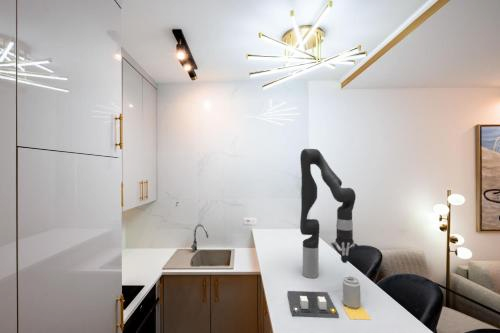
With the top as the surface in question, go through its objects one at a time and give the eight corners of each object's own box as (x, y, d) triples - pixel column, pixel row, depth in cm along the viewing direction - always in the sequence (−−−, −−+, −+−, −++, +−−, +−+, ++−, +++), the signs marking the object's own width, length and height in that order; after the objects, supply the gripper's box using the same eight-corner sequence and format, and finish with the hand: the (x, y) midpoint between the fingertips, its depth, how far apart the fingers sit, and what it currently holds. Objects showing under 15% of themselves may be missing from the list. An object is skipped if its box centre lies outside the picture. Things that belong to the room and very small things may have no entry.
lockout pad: (342, 306, 110) (342, 306, 110) (362, 307, 109) (362, 306, 109) (349, 319, 101) (349, 318, 101) (371, 319, 100) (371, 319, 100)
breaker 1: (299, 303, 109) (299, 295, 109) (306, 303, 109) (306, 296, 109) (301, 308, 105) (301, 300, 105) (308, 309, 105) (308, 301, 105)
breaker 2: (317, 304, 109) (317, 296, 109) (324, 304, 108) (324, 296, 108) (319, 309, 105) (319, 301, 105) (326, 309, 104) (326, 301, 104)
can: (355, 300, 115) (355, 275, 115) (363, 309, 108) (363, 282, 108) (340, 300, 115) (340, 275, 115) (347, 309, 107) (347, 282, 107)
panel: (287, 293, 121) (287, 288, 121) (327, 295, 120) (327, 289, 120) (291, 316, 103) (291, 309, 103) (338, 317, 102) (338, 311, 102)
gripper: (332, 229, 116) (332, 264, 116) (361, 230, 114) (360, 266, 114) (329, 225, 123) (329, 258, 123) (355, 226, 122) (355, 259, 122)
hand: (344, 262), depth 119 cm, fingers closed
